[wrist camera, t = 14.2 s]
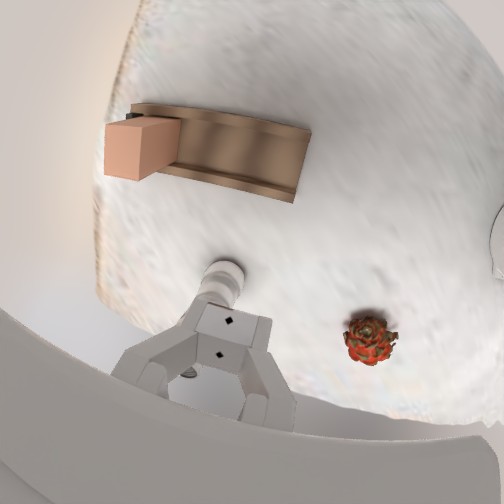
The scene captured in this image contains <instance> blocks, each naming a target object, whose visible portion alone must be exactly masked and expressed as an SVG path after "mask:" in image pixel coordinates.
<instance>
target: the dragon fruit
mask: <svg viewBox="0 0 504 504" xmlns="http://www.w3.org/2000/svg"><path fill="white" fill-rule="evenodd" d="M386 326H387V321H386V320H385V319H383V318H382V319H381V320H378V321H376V320H375V319H374V318H373V317H372V316H367V317H365V318H364V319H362V320H358V319H356V318H355V319H354V320H352V321H350V326H349V330H350V332H348V331H346V332H345V333H343V336H344V340H345V344H346V346H347V347H349V350H348V352H349V356H350V357H351V358H352V359H353V360H354V361H359V360H360V361H361V362H362V363H364V364H366V365H369V366H374V365H376V364H377V362H378V361H383V360H385V359H389V358H390V355H391V354H390V353H391V352H392V351H393V349H392V348H393V346H394V345H395V344H396V343H393V344H392V346H391V345H390V343H391V342H392V341H394V340H395V338H396V339H398V332H394V333H392V332H390V331H386ZM389 354H390V355H389Z"/></svg>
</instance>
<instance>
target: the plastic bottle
mask: <svg viewBox="0 0 504 504" xmlns="http://www.w3.org/2000/svg"><path fill="white" fill-rule="evenodd" d="M243 288H244V274H243V272H242V270H241V269H240V268H239V267H238V266H237V265H236V264H234V263H232V262H230V261H218V262H215V263H213V264H212V265H211V266H210V267H209V268H208V269H207V270H206V271H205V273H204V275H203V278H202V282H201V286H200V288H199V291H198V293H197V295H196V297H195V298H199V299H202V300H205V301H208V302H212V303H215V304H218V305H222V306H225V307H228V308H232V306H233V305H234V303H235V301H236V299H237V298H238V297H239V295H240V293H241V292H242V290H243ZM190 306H191V305H190ZM189 308H190V307H189ZM189 308H188V310H189ZM188 310H187V311H188ZM187 311H186V312H185V313H184V314H183V316H182V317H181V318H180V319H179V321H178V322H177V324H176V325H175V326H179V327H180V325H181V323H182V321H183V319H184V317H185V315H186V313H187ZM202 368H203V364H199V363H196V362H195V364H194V365H193V366H191V367H190V368H189V369H187V370H186V371H184V372H183V373H182V374H180V375H179V377H181V378H185V379H196V378H197V377H198V376H199V373H200V370H201V369H202Z"/></svg>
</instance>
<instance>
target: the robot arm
mask: <svg viewBox="0 0 504 504" xmlns="http://www.w3.org/2000/svg"><path fill="white" fill-rule="evenodd" d="M490 251H491V255H492V259H493V276H494V277H495V278H496V279H503V280H504V206H503V208H502V209H501V211H500V212H499V214H498V216H497V218H496V220H495V223H494V226H493V229H492V233H491V239H490ZM271 327H272V319H270V318H266V317H262V316H258V315H254V314H250V313H247V312H243V311H239V310H235V309H231V308H228V307H225V306H222V305H218V304H215V303H212V302H208V301H205V300H202V299H199V298H195V299H194V300H193V302H192V304H191V306H190V308H189V310H188V311H187V313H186V315H185V317H184V319H183V321H182V323H181V325H180V327H179V326H174V327H172V328H170V329H168V330H166V331H164V332H162V333H159V334H157V335H155V336H153V337H151V338H149V339H147V340H145V341H143V342H141V343H139V344H137V345H135V346H133V347H130V348H128V349H127V350H125V352H124V354H123V355H122V357H121V358H120V360H119V361H118V363H117V365H116V366H115V368H114V370H113V371H112V373H111V375H108V374H106V373H104V372H102V371H100V370H98V369H96V368H94V367H92V366H90V365H88V364H87V363H85V362H83V361H81V360H79V359H77V358H75V357H74V356H72V355H70V354H68V353H67V352H65V351H63V350H61V349H60V348H58V347H56V346H55V345H53V344H51V343H50V342H48V341H47V340H45V339H44V338H42V337H40V336H39V335H37V334H36V333H34V332H33V331H31V330H30V329H28V328H27V327H26V326H24V325H23V324H21V323H20V322H18V321H17V320H15V319H14V318H13V317H11V316H10V315H9V314H8V313H6V312H5V311H4V310H2V309H1V308H0V504H501V484H500V471H499V463H498V458H497V455H496V454H495V452H494V451H493V449H492V448H491V447H490V445H489V444H488V443H487V441H486V440H485V439H484V438H483V437H482V436H481V435H477V434H476V435H467V436H460V437H452V438H442V439H430V440H408V441H376V440H354V439H341V438H331V437H322V436H312V435H306V434H299V433H293V428H294V420H295V411H296V403H297V402H296V400H295V398H294V396H293V394H292V392H291V390H290V389H289V387H288V385H287V383H286V381H285V379H284V377H283V376H282V374H281V372H280V370H279V368H278V366H277V364H276V362H275V360H274V359H273V357H272V355H271V353H269V352H267V347H268V342H269V337H270V332H271ZM195 362H196V363H199V364H203V365H206V366H210V367H214V368H217V369H220V370H223V371H227V372H230V373H233V374H237V375H238V377H239V380H240V383H241V386H242V389H243V391H244V394H245V397H246V401H245V403H244V406H243V408H242V410H241V413H240V415H239V417H238V420H237V421H235V420H232V419H228V418H224V417H220V416H216V415H213V414H210V413H207V412H203V411H200V410H197V409H194V408H191V407H188V406H185V405H182V404H179V403H176V402H173V401H170V400H169V395H168V385H167V383H169V382H170V381H172V380H173V379H174V378H176V377H177V376H179V375H180V374H182V373H183V372H184V371H186V370H187V369H189V368H190V367H191V366H193V365H194V364H195Z"/></svg>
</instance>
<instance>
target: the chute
mask: <svg viewBox="0 0 504 504" xmlns="http://www.w3.org/2000/svg"><path fill="white" fill-rule="evenodd" d="M148 115H153V116H163V117H172V118H180V119H182V120H181V127H180V135H179V143H178V151H177V160H176V161H174V162H173V163H171V164H169V165H167V166H165V167H163V168H161V169H160V170H158V171H156V172H159V173H164V174H169V175H174V176H179V177H184V178H189V179H193V180H198V181H203V182H207V183H212V184H216V185H220V186H225V187H229V188H233V189H237V190H242V191H246V192H250V193H254V194H258V195H262V196H266V197H270V198H273V199H277V200H281V201H285V202H289V203H292V204H293V201H294V197H295V193H296V188H297V184H298V180H299V177H300V173H301V169H302V165H303V162H304V158H305V154H306V150H307V146H308V143H309V141H310V137H311V131H308V130H304V129H301V128H297V127H293V126H289V125H285V124H281V123H276V122H272V121H267V120H263V119H258V118H253V117H248V116H243V115H237V114H232V113H226V112H220V111H213V110H206V109H199V108H191V107H183V106H174V105H163V104H150V103H138V104H131V111H130V113H129V114H126V120H127V119H132V118H137V117H142V116H148Z"/></svg>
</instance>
